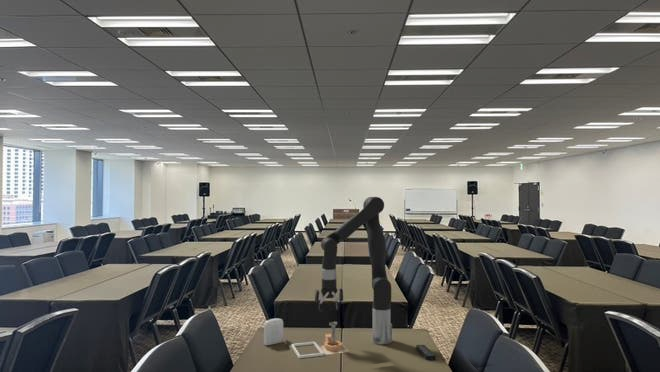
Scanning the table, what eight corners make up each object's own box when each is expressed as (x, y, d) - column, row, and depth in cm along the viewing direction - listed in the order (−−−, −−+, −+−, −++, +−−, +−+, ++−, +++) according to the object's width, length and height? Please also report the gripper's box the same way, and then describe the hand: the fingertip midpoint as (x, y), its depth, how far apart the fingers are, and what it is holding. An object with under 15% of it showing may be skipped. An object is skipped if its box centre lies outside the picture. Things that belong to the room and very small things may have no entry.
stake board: (341, 346, 206) (341, 318, 207) (350, 355, 195) (350, 325, 195) (318, 348, 203) (318, 320, 203) (325, 357, 191) (325, 328, 192)
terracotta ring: (335, 341, 209) (335, 333, 210) (344, 349, 197) (344, 341, 198) (320, 342, 207) (320, 334, 207) (327, 351, 195) (327, 343, 195)
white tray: (314, 346, 206) (314, 341, 206) (324, 358, 190) (324, 353, 190) (291, 349, 202) (291, 344, 202) (298, 361, 187) (298, 356, 187)
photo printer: (280, 340, 215) (280, 316, 215) (284, 342, 211) (284, 318, 212) (262, 343, 209) (262, 319, 210) (265, 346, 206) (266, 321, 206)
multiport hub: (424, 349, 204) (424, 344, 204) (435, 360, 189) (435, 355, 189) (415, 349, 203) (415, 345, 203) (426, 361, 189) (426, 356, 189)
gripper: (339, 275, 213) (340, 307, 213) (313, 277, 209) (313, 309, 209) (344, 278, 206) (345, 310, 206) (317, 279, 202) (317, 313, 201)
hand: (329, 310), depth 207 cm, fingers open, 8 cm apart
